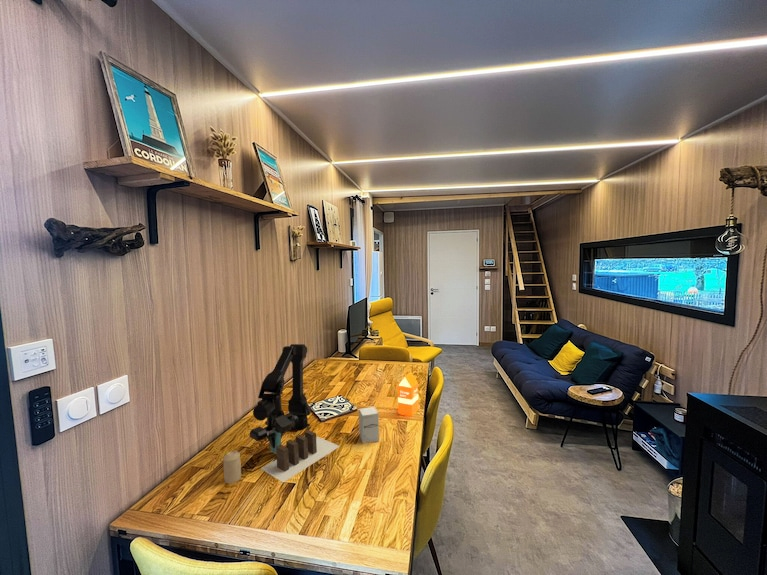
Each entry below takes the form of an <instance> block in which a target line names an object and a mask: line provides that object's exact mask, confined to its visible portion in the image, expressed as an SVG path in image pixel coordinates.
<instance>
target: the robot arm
mask: <svg viewBox="0 0 767 575" xmlns="http://www.w3.org/2000/svg"><path fill="white" fill-rule="evenodd" d="M307 353H308V347H307V346H306V344H303V343H302V344H300V343H291V344H290V345H286V346H283V348H282V352H281V354H280V356H279V358H278V360H277V362H276V364H275V365H274V366H275V367H274V368H273V370H272V371H271V372H269V373H268V374H266V376H265V378H264V379H263V381H262V382H261V383H262V384H261V387H260V390H259V392H258V397H257V398H258V399H260V400H259V401H257V405H256V406H255V407H254V408H253V411H252V414H253V415H252V416H253V418H254V419H256V420H257V421H264V424H265V425H266V426H265V427H262V426H257V427H255V428H254V427H253V429H251V430H250V431H249V438H251V439H252V440H255V441H257V442H260V441H262V440H264V439H267V441H268V442H269V444H271V446H272V448H275V438H274V436H275V435H276V433H274V430H275V431H277V432H279V433H281V439H282V438H283V434H285V433H287V432H289V431H291V429H294V430H296V431H300V432H301V431H302V430H305V429H306V428H309V427H310V426H311V424H310V423H309V421H308V420H309V419H308V416H309V415H311V410H312V409H311V405H309V404H308V401H307V400H308V399H307V397H306V396H305V393H304V361H305V360H306V358H307ZM290 364H291V368H292V372H291V374H292V376H291V377H292V379H291V380H292V381H291V382H292V385H291V386H292V395H291V397H290V398H289V399H288V402H287V403H288V405H287V409H288V413H285V412H284V410H283V409H282V395H283V391H284V386H285V378H284V377H285V374H286V372H287V370H288V368H289V366H290ZM265 420H266V421H265ZM271 446H270V447H271Z"/></svg>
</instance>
